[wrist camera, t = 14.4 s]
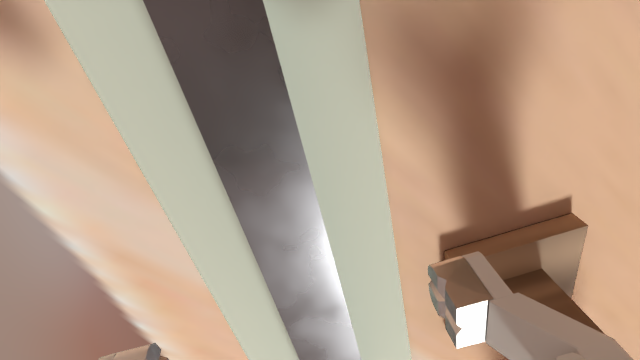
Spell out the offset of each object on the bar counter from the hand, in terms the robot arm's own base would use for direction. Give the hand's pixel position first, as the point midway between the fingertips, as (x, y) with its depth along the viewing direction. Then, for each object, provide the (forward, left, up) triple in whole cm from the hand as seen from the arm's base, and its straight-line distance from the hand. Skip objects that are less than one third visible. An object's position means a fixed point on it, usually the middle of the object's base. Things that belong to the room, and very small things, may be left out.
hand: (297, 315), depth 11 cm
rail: (+1, 0, -7) cm, 7 cm away
